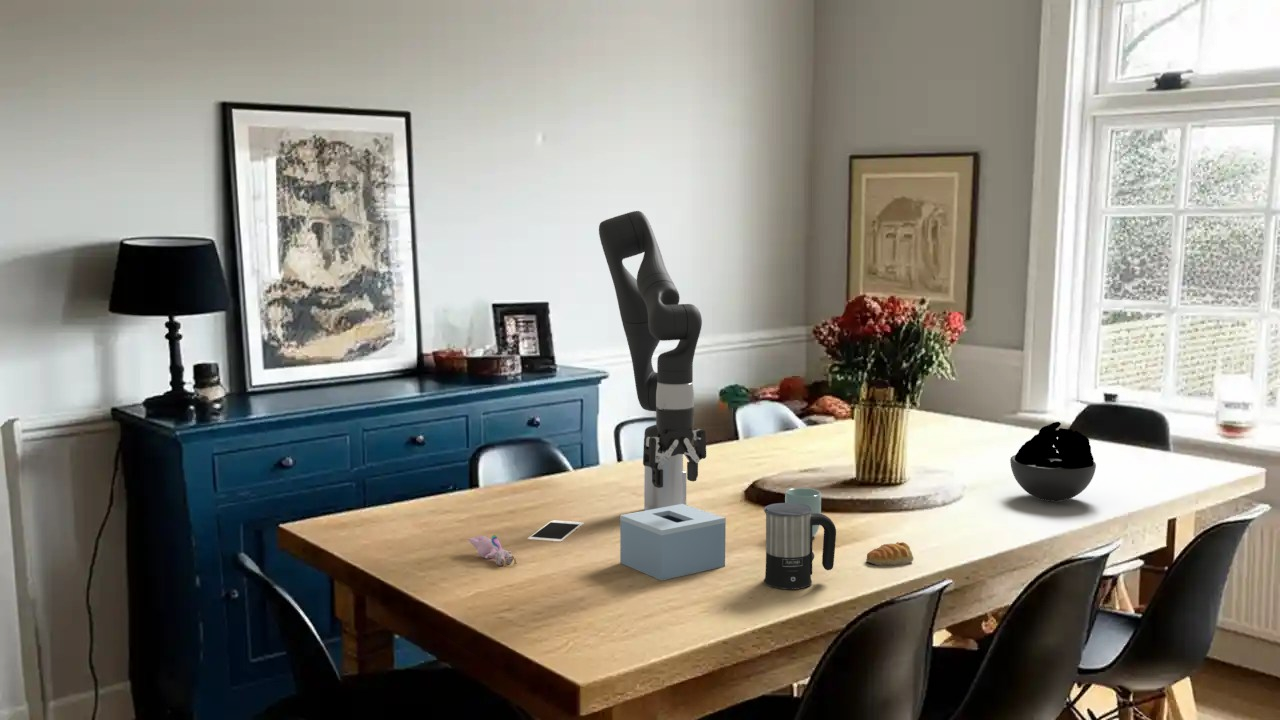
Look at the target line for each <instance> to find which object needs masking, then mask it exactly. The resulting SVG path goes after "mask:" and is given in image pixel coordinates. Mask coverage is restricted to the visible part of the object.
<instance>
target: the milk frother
mask: <svg viewBox="0 0 1280 720" xmlns="http://www.w3.org/2000/svg"><path fill="white" fill-rule="evenodd" d="M763 511H764V513H765V575H764V578H763V582H764V584H765V585H766V586H768V587H772V588H775V589H779V590H780V589H781V590H799V589H800V590H801V589H804V588H805V589H806V588H808V587H809V586H811V585H812V583H813V581H812V575H813V561H814V559H815V553H814V552H813V537H812V526H813V525H819V526H820V527H822V528H823V542H822V555H821V556H822V557H821V558H822V559H821V565H822V567H823V568H824V570H826V571H831V570H832V569H833V568H834V565H835V563H834V562H835V551H836V542H837V541H836V540H837V529H836V526H835V523H834V521H833V520H832V519H831V518H830V517H829V516H827V515H825V514H823V513H821V514H820V513H811V511H812V508H811V507H810V506H807V505H803V504H797V503H785V502H778V503H771V504H768V505H766V506H764V509H763Z"/></svg>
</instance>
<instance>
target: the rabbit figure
mask: <svg viewBox="0 0 1280 720" xmlns="http://www.w3.org/2000/svg"><path fill="white" fill-rule="evenodd" d="M498 538H499V537H498V535H493V536H492V537H491V538H489V537H488V536H485V535H477V536H474V537H467V540H468V541H469V543H470V544H471V545H472V546H473V547H475V548H476V551H477V554H478V556H480V557H481V558H484V559H486V560H491V559H493V560H494V561H495V563H496V565H497V566H498V567H503V569H506V567H509V566H508V565H511V564H512V562H513V566H515V565H518V562H517V557H515V555H511V553H512V551H511V550H506V549H504V548H503V547H502V545H501V542H500V541H499V539H498Z"/></svg>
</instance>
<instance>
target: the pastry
mask: <svg viewBox="0 0 1280 720" xmlns="http://www.w3.org/2000/svg"><path fill="white" fill-rule="evenodd" d="M913 561H914V555H913V551H912V550H911V547H910V546H909V545H908V544H907V543H906V542H899V541H898V542H896V543H885V544H881V545H880V546H879V547H877V548H874V549H872V550H871V551H869V552H867V554H866V562H868V563H870V564H873V565H875V566H878V567H879V566H880V567H881V566H900V565H907V564H908V565H909V564H911V563H912V562H913Z"/></svg>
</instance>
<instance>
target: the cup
mask: <svg viewBox="0 0 1280 720" xmlns="http://www.w3.org/2000/svg"><path fill="white" fill-rule="evenodd" d="M784 496H785V497H784V501H785V502H784V503H797V504H803V505H807V506H810V507H811V508H812V511H811V513H820V514H822V513H821V512H822V493H821V490H818V489H816V488H815V489H814V488H809V487H808V488H807V487H795V488H794V487H793V488H790V489H789V488H788V489H786V491H785V495H784ZM819 529H820V525H813V526H812V538H814V537H815V536H816V534H817V533H818V531H819Z"/></svg>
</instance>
